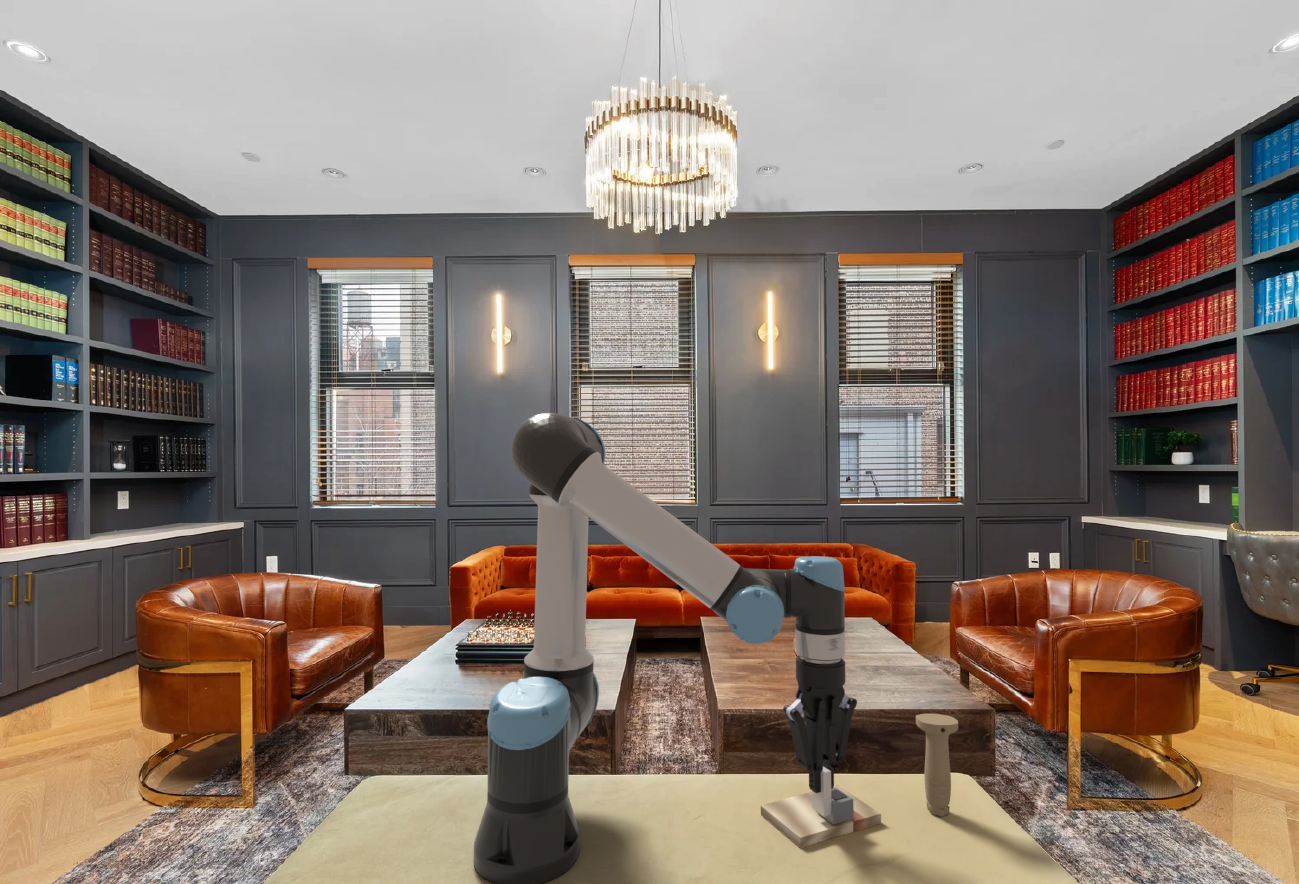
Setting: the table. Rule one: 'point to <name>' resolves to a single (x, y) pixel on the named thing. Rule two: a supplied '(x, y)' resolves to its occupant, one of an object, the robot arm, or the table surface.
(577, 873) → the table surface
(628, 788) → the table surface
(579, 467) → the robot arm
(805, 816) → the plank
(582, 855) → the table surface
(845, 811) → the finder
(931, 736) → the handle
